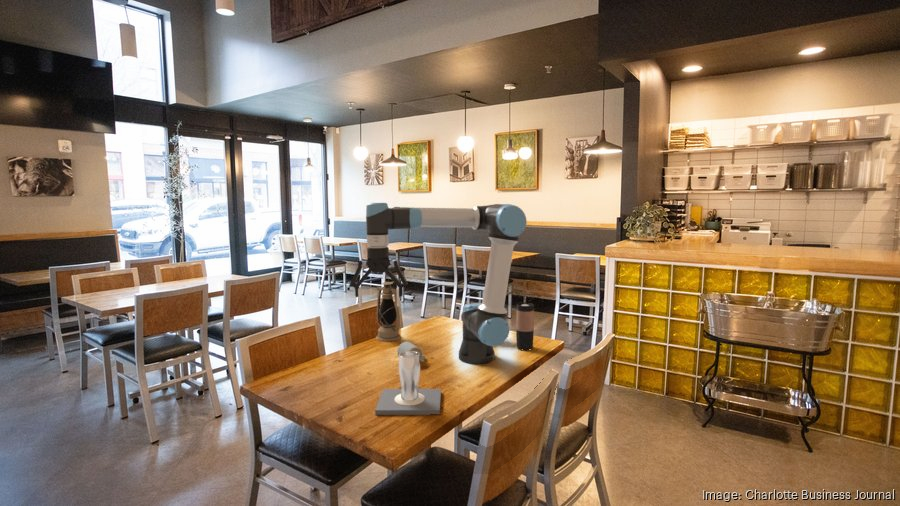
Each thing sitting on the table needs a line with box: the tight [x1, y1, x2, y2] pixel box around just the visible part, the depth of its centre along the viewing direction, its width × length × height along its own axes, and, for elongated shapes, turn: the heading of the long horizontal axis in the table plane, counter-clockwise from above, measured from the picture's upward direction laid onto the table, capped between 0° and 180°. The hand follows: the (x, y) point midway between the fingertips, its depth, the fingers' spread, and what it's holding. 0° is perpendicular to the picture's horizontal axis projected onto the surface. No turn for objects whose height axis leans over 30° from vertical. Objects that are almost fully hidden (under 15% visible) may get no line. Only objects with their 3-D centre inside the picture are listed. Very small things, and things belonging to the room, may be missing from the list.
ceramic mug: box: [397, 341, 426, 361], centre depth 191 cm, size 11×8×8 cm
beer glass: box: [398, 351, 421, 402], centre depth 151 cm, size 7×7×15 cm
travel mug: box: [515, 302, 535, 351], centre depth 205 cm, size 8×8×20 cm
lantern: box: [375, 275, 402, 343], centre depth 221 cm, size 14×12×30 cm
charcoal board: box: [374, 388, 442, 416], centre depth 152 cm, size 20×16×2 cm
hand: (379, 305), depth 165 cm, fingers open, 13 cm apart
